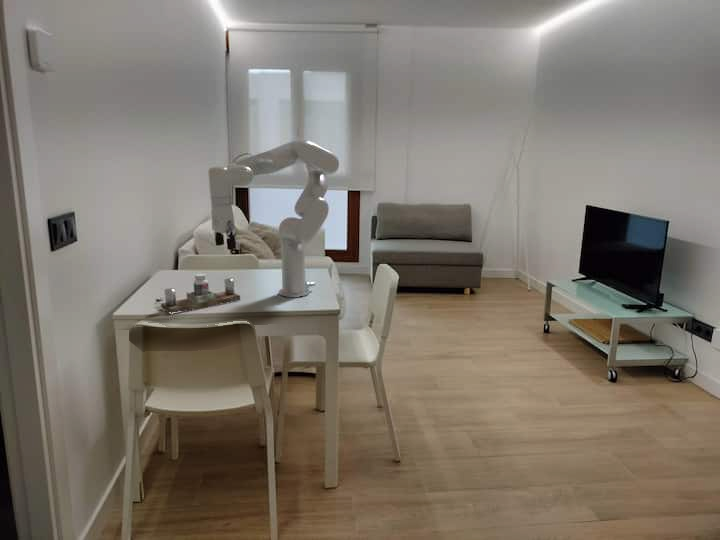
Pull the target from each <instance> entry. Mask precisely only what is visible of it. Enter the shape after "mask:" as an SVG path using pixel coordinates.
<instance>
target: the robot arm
mask: <svg viewBox="0 0 720 540" xmlns="http://www.w3.org/2000/svg"><path fill="white" fill-rule="evenodd" d="M299 163H301V164H305V167H306V170H307V173H308V180H307V183H306V185H305V187H304V189H303V190H302V193H301V194H300V196H299V197H298V199H297V200H296V202H295V205H294V212H295V215H297V217H300V218H297V217H286V218H284V219H283V220H281V221H280V224H279V227H278V237H279V241H280V246H281V247H280V248H281V249H280V250H281V283H282V286H281V287H282V288H280V289H279V290H278V295H279V296H281V295H282V296H281V297H284V296H286V297H285V298H301V297H300V296H302V297H305V295H306V296H308V295H309V294H310V289H309V288H311V287H315V286H316V283H315V281H310V282H309V281H306V250H305V245H308V244H310V243H312V242H313V241H314V240H315V239H316V237H317V235H318V234H319V231H320V230H321V229H322V227H323V225H324V223H325V221H326V220H327V217H328V215H329V211H330V210H329V203H328V202H327V200H326V199H325V198H324V197H325V195H326V193H327V191H328V187H329V181H328V176H329V175H333V174H335V173H336V172H337V171H338V170H339V167H340V161H339V159H338V156H337V155H336V154H334V153H333V152H332V151H329V150H327V149H325V148H323V147H321V146H319V145H318V144H316V143H314V142H311V141H309V140H293V141H289V142H287V143H283V144H282V145H279V146H276V147H274V148H272V149H269V150H267V151H263V152H259V153H257V154H254V155H251V156H248V157H245V158H242V159H239V160H236V161H234V162H231V163H229V164H227V165H226V166H212V167H210V168H209V169H208V182H209V192H210V193H209V194H210V201H211V202H210V204H211V205H210V206H211V228H212V231H214V232H213V234H214V239H215V240H214V241H215V246H217V247H218V246H223V245H225V237H224V236H226V249H227V250H235V249H237V245H236V235H237V233H236V231H237V227H236V226H235V225H236V224H235V217H234V210H233V196H232V195H233V193H232V187H233V186H235V187H246V186H248V185H250V184H251V183H252V182H253V179H254V177H256V176H261V175H270V174H274V173H277V172H280V171H282V170H285V169H286V168H289V167H292V166H294V165H296V164H299ZM224 234H225V235H224Z"/></svg>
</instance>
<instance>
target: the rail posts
mask: <svg viewBox="0 0 720 540" xmlns="http://www.w3.org/2000/svg"><path fill="white" fill-rule="evenodd" d="M224 292H225V295H234V293H235V279H234V278H232V277H231V278H230V277H229V278H225V279H224ZM176 297H177V296H176V288H172V287H171V288H166V289H164V299H165V303H166V306H167V307H173V306H176V301H177V300H176Z"/></svg>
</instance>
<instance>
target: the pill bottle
mask: <svg viewBox="0 0 720 540" xmlns="http://www.w3.org/2000/svg"><path fill="white" fill-rule="evenodd" d="M194 279H195V280H194V281H193V292H194V295H195V296H202V295H208V294H209V291H210V290H209V281H208V280H207V273H196V274H195V275H194Z"/></svg>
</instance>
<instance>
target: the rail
mask: <svg viewBox="0 0 720 540" xmlns="http://www.w3.org/2000/svg"><path fill="white" fill-rule="evenodd" d="M236 300H240V301H241V295H240V294H238V293H236V292H234V295H225V291H222V292H213V291H211V290H209V294H208V295H202V296H195V295H194V291H189V292H186V298H184V299H179V300H176V306H173V307H167V306H166V302H163V303H160V308H161V307H162V308H163V309H165V310H167V311H168V312H171V313H172V312H178V311H185V310H191V311H193V310H192V309H195V310H199V309H198V308H200V309H204V308H203V307H205V308H209V307H208V306H210V307H214V306H213V305H215V306H217V305H216V304H220V303H225V304H227V303H226V302H230V303H232V302H231V301H235V302H237V301H236ZM220 305H221V304H220ZM163 309H162V310H163ZM168 312H167V313H168Z"/></svg>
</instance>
